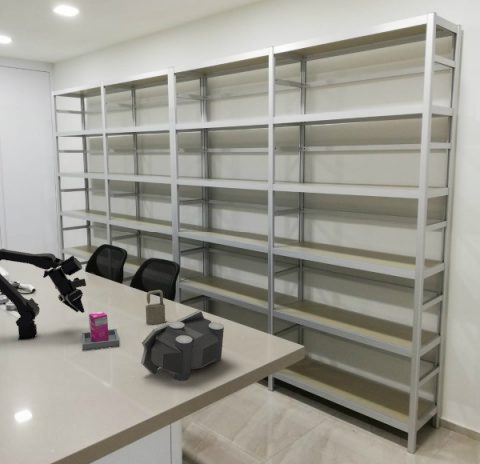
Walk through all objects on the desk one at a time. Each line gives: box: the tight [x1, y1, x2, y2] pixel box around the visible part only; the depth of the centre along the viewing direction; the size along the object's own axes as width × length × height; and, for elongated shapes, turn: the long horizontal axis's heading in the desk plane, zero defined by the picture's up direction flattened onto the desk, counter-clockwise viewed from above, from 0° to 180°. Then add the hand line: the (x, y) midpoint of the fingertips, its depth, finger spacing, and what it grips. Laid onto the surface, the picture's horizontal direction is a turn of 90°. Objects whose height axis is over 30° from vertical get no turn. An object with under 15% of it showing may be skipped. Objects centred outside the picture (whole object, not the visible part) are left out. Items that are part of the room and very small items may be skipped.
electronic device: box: [140, 309, 225, 382], centre depth 180 cm, size 18×21×30 cm
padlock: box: [145, 289, 166, 326], centre depth 228 cm, size 4×8×15 cm, turn 116°
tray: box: [81, 328, 120, 351], centre depth 206 cm, size 14×14×3 cm
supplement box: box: [88, 310, 109, 342], centre depth 205 cm, size 6×6×12 cm
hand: (80, 311), depth 214 cm, fingers open, 9 cm apart
